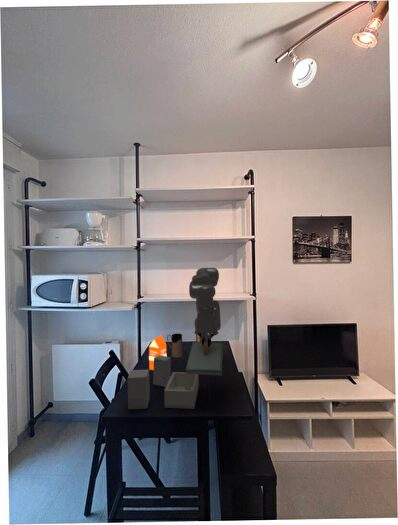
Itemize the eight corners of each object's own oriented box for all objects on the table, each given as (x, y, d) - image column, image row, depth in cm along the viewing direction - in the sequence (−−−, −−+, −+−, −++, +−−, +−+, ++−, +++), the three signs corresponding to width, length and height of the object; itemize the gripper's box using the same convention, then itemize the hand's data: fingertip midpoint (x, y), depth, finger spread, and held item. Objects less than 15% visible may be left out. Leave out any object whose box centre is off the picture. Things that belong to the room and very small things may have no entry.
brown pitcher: (177, 358, 179) (177, 337, 179) (163, 354, 188) (163, 334, 188) (185, 354, 186) (185, 334, 186) (171, 350, 195) (171, 331, 195)
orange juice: (149, 369, 162) (148, 338, 162) (157, 364, 170) (156, 334, 170) (159, 371, 158) (158, 339, 158) (166, 366, 166) (166, 335, 166)
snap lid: (193, 345, 138) (192, 333, 136) (223, 346, 136) (222, 334, 134) (185, 373, 117) (184, 360, 115) (221, 375, 114) (221, 361, 112)
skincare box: (152, 384, 141) (152, 358, 141) (158, 380, 147) (158, 354, 147) (165, 387, 138) (165, 360, 138) (171, 382, 143) (170, 356, 143)
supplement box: (150, 398, 126) (149, 368, 126) (147, 409, 118) (146, 377, 118) (132, 399, 126) (131, 369, 126) (127, 409, 117) (127, 377, 117)
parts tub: (173, 386, 138) (173, 372, 138) (198, 387, 137) (198, 372, 137) (164, 407, 119) (164, 390, 119) (194, 408, 117) (193, 391, 117)
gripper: (221, 309, 132) (222, 344, 132) (192, 308, 134) (192, 343, 134) (221, 312, 125) (221, 349, 125) (189, 311, 127) (190, 348, 127)
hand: (206, 345), depth 129 cm, fingers closed on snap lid
